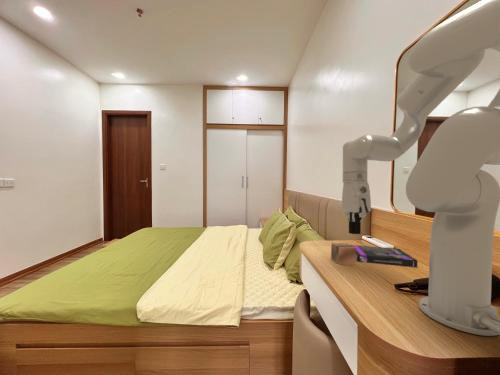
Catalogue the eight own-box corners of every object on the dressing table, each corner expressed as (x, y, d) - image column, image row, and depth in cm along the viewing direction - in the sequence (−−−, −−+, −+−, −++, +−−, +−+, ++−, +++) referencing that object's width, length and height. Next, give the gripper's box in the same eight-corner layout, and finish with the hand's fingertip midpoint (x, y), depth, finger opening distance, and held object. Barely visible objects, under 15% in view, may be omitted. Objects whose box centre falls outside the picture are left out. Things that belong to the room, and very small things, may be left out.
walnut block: (356, 247, 77) (346, 243, 83) (339, 247, 77) (331, 243, 83) (355, 264, 77) (346, 259, 83) (339, 264, 77) (331, 259, 83)
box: (356, 264, 81) (418, 269, 77) (356, 254, 81) (418, 259, 77) (348, 252, 95) (400, 256, 90) (349, 244, 95) (400, 247, 90)
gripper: (380, 177, 67) (380, 238, 67) (353, 180, 82) (353, 230, 81) (356, 176, 67) (356, 237, 66) (333, 179, 81) (333, 230, 81)
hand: (354, 233), depth 74 cm, fingers closed
